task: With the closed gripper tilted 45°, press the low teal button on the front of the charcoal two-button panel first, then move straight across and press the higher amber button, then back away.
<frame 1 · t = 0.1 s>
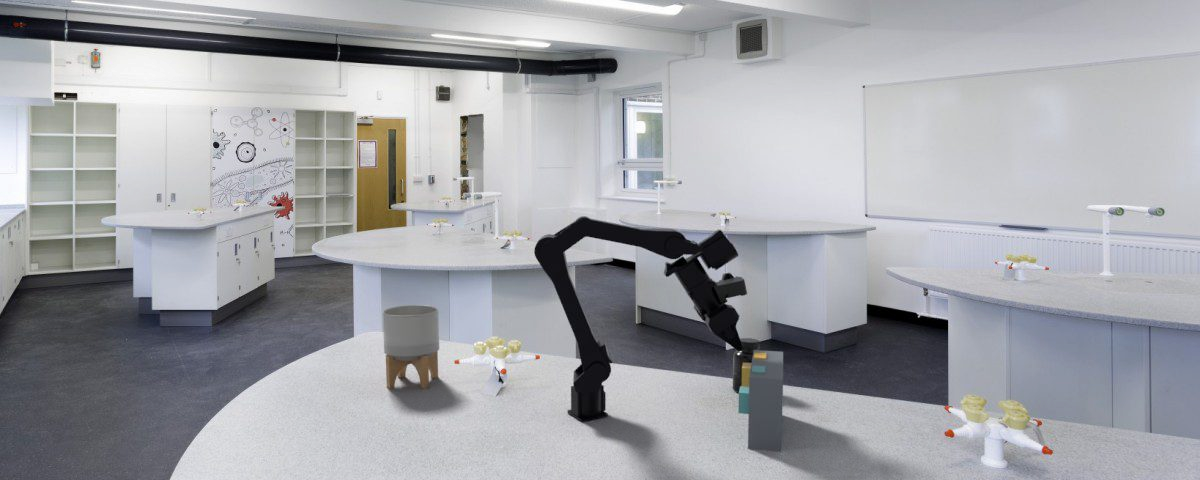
hand: (736, 344, 148), 15 cm above the lab bench, tool tilted 35°, fingers open, 9 cm apart
teal button: (748, 400, 135), point 8 cm above the lab bench, slide at 0.0 cm
planter: (413, 382, 172), on the lab bench
button panel: (763, 430, 140), on the lab bench
supplement bottle: (747, 391, 165), on the lab bench
amber button: (751, 375, 144), point 10 cm above the lab bench, slide at 0.0 cm
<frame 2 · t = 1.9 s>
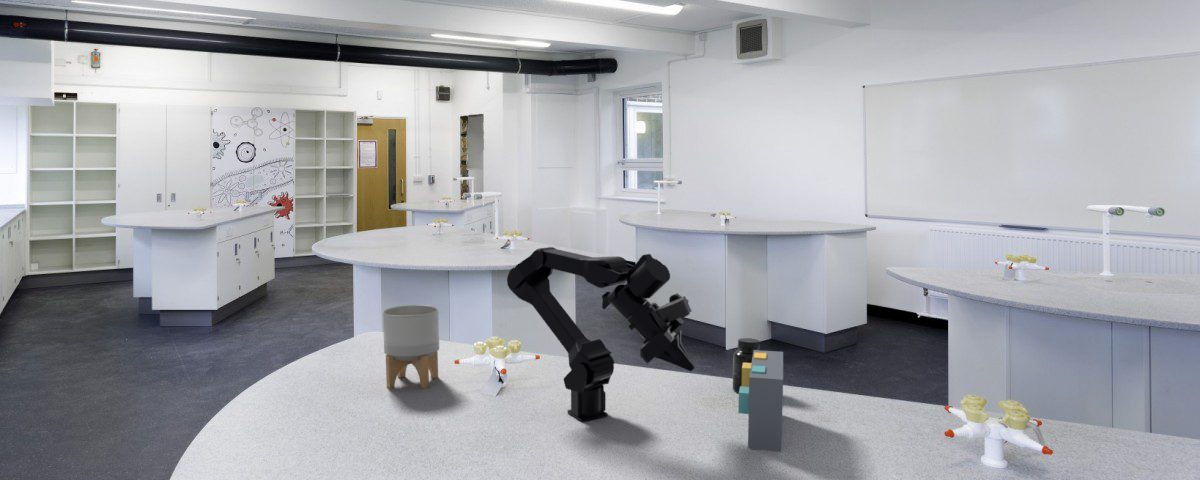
hand: (693, 369, 137), 13 cm above the lab bench, tool tilted 45°, fingers closed
nothing on the lab bench moved.
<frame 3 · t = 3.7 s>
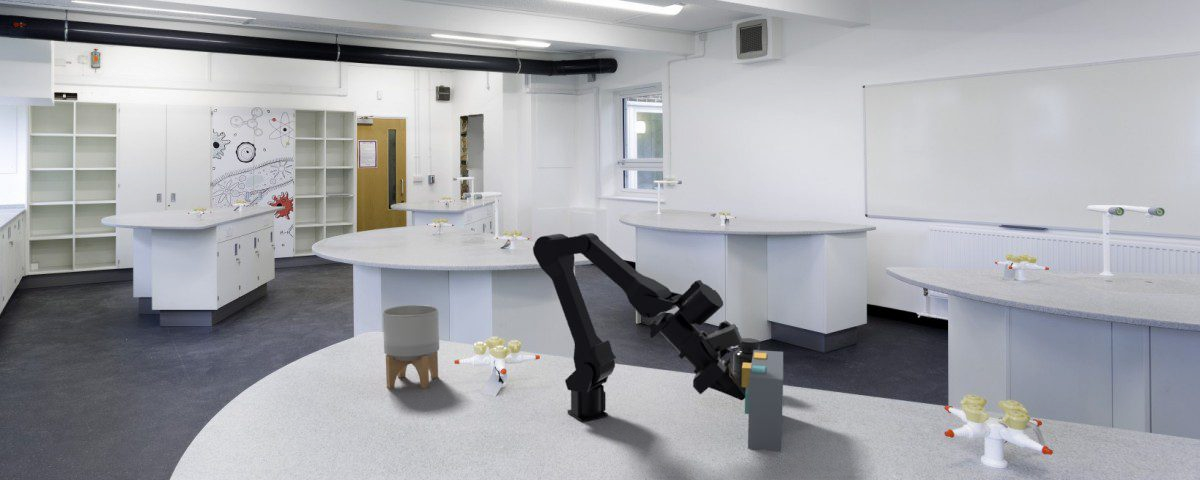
hand: (744, 398, 135), 8 cm above the lab bench, tool tilted 45°, fingers closed, pressing on teal button
teal button: (755, 400, 135), point 7 cm above the lab bench, slide at 1.2 cm, touching gripper
everything else where it was.
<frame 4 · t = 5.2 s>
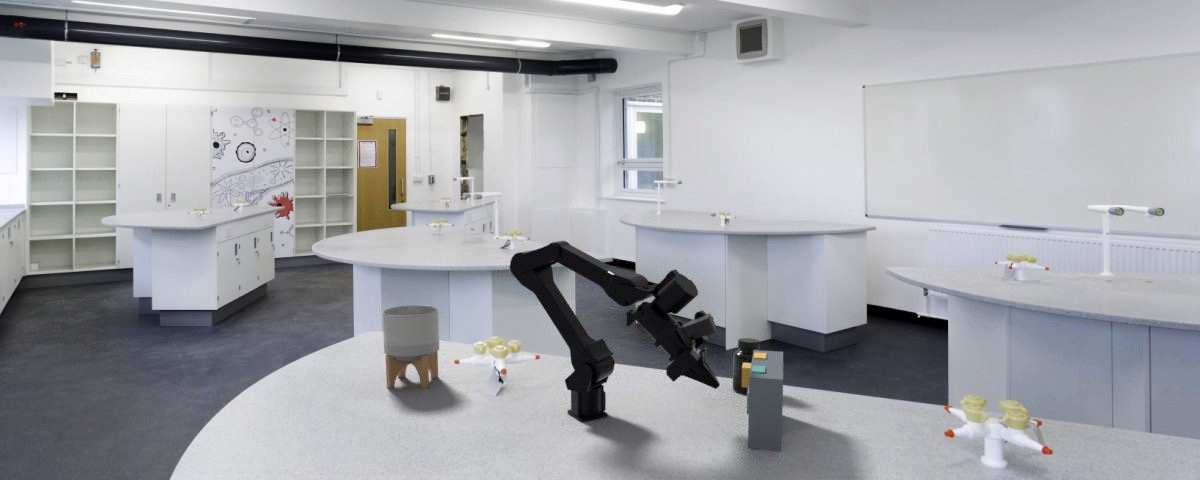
hand: (718, 386, 137), 9 cm above the lab bench, tool tilted 45°, fingers closed
teal button: (757, 401, 135), point 7 cm above the lab bench, slide at 1.5 cm
everything else where it was.
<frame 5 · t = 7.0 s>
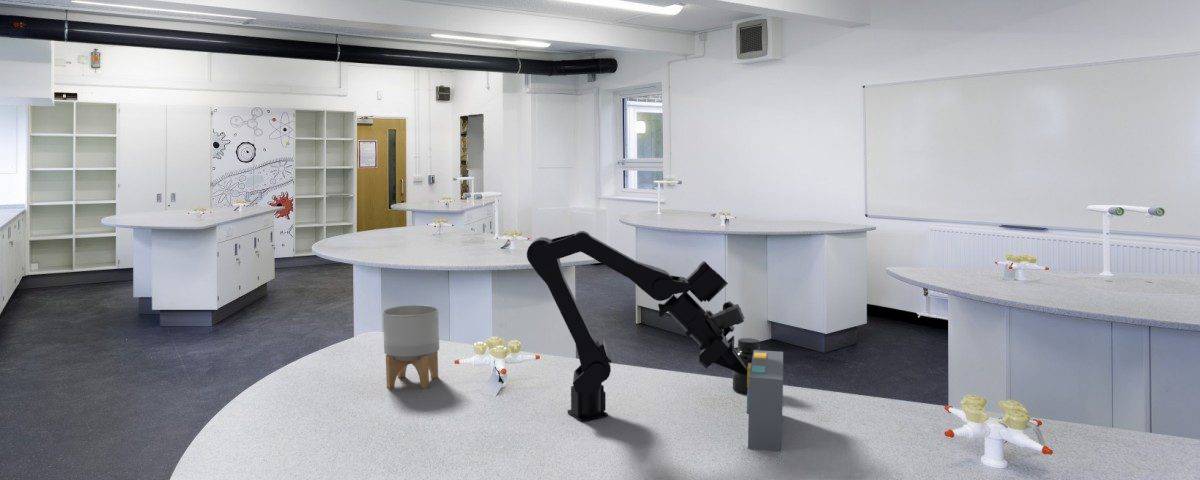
hand: (746, 373, 145), 10 cm above the lab bench, tool tilted 45°, fingers closed, pressing on amber button
amber button: (756, 375, 144), point 10 cm above the lab bench, slide at 1.1 cm, touching gripper
everything else where it was.
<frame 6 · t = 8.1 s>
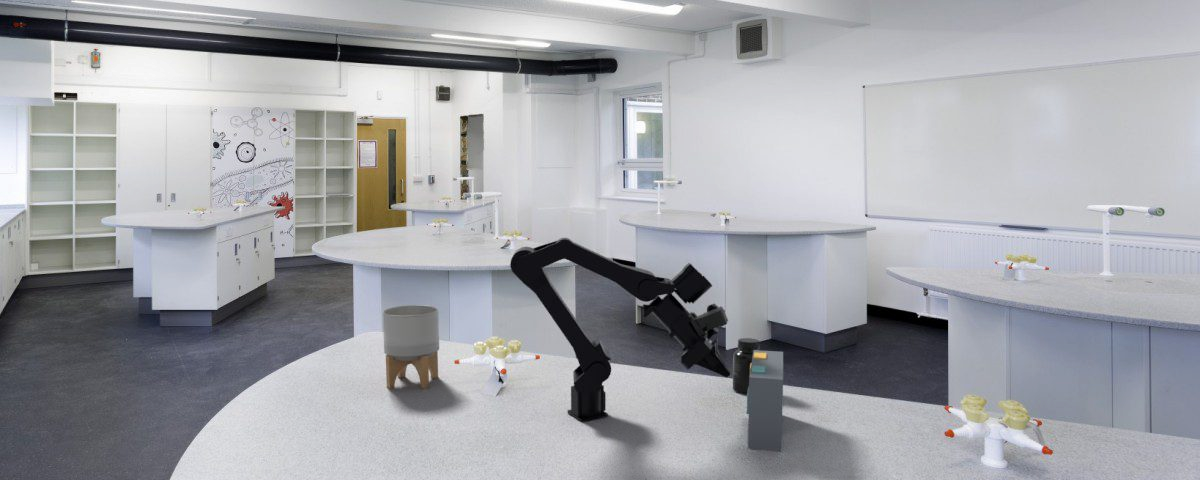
hand: (728, 375, 145), 9 cm above the lab bench, tool tilted 45°, fingers closed
amber button: (759, 375, 144), point 10 cm above the lab bench, slide at 1.5 cm
everything else where it was.
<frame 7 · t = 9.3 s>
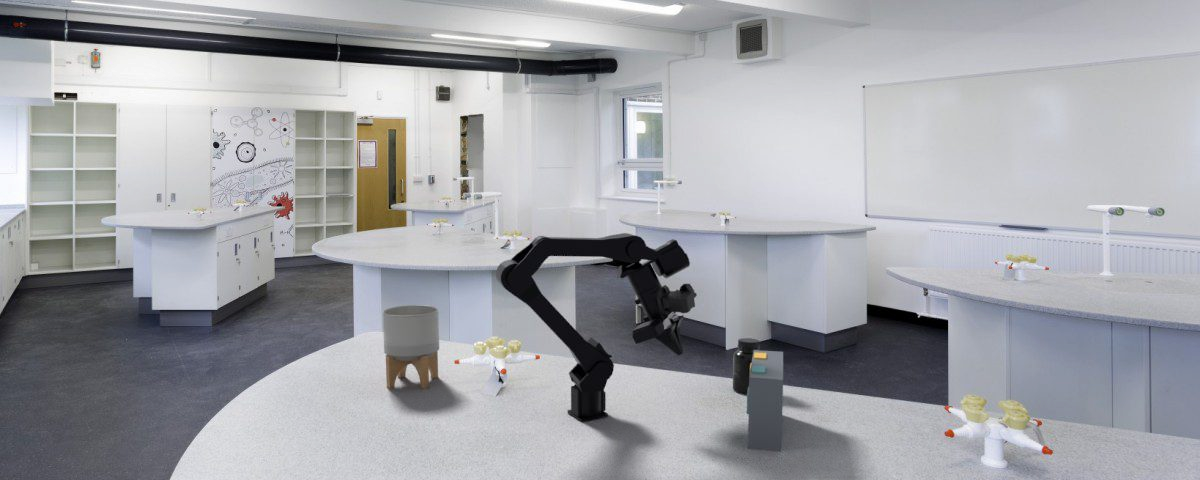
hand: (680, 354, 150), 12 cm above the lab bench, tool tilted 25°, fingers closed
nothing on the lab bench moved.
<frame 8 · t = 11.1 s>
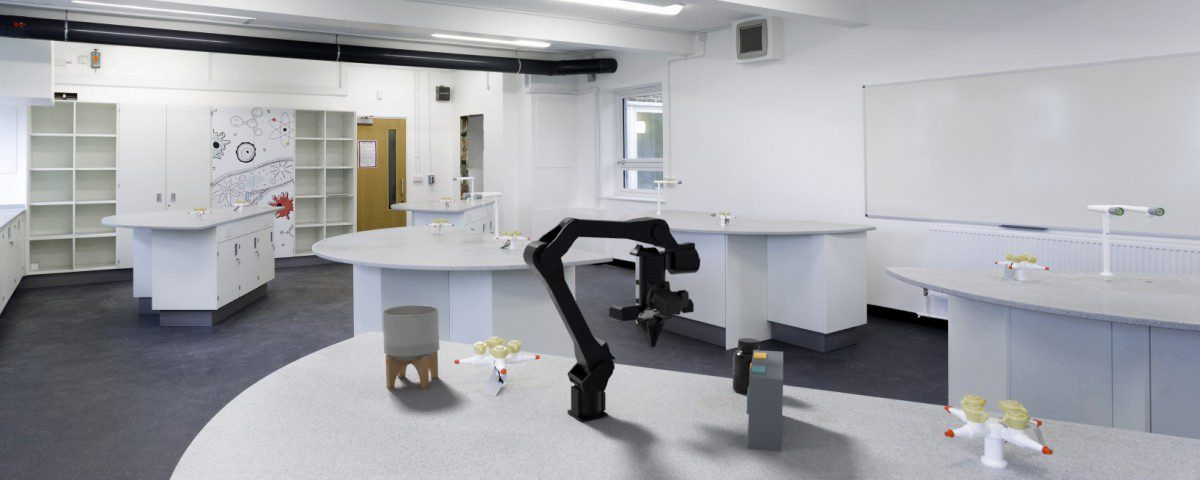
hand: (652, 347, 153), 13 cm above the lab bench, tool pointing down, fingers closed
nothing on the lab bench moved.
at the end: teal button slide at 1.5 cm; amber button slide at 1.5 cm; supplement bottle moved 0.2 cm from its start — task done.
